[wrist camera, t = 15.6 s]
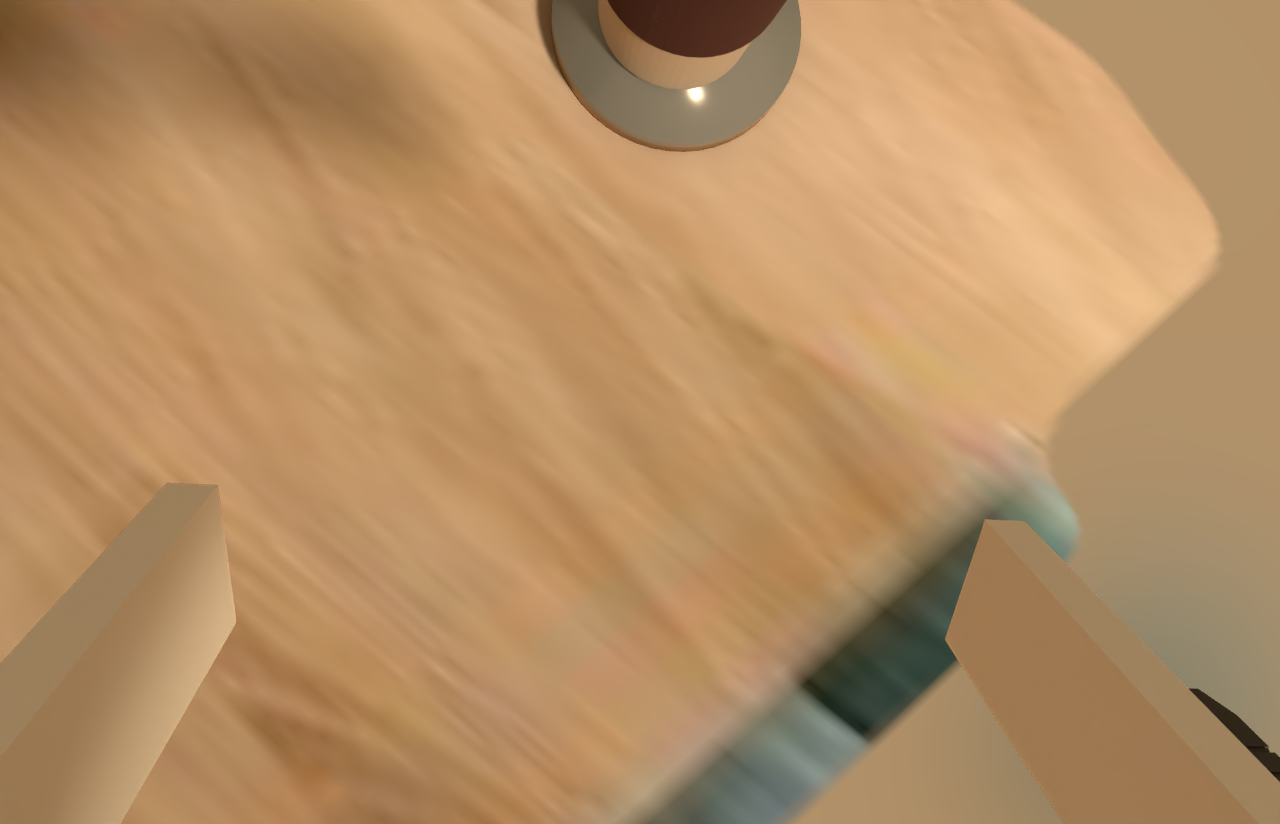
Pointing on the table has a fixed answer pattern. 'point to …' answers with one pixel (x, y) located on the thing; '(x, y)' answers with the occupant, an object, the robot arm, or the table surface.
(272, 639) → the table surface
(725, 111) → the slate coaster
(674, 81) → the coffee cup
